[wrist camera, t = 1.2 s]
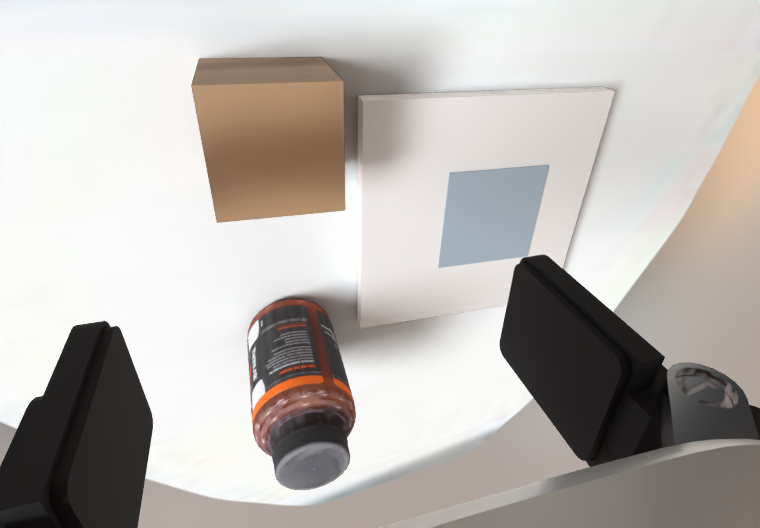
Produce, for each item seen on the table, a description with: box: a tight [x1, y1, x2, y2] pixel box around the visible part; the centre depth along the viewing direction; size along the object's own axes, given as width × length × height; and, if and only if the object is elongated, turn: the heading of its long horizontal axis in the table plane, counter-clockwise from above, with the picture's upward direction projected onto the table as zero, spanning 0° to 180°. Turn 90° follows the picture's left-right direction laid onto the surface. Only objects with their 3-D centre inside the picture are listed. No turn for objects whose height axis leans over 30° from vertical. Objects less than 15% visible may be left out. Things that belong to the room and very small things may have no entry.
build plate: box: [357, 87, 615, 328], centre depth 31 cm, size 16×16×1 cm
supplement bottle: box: [247, 299, 356, 490], centre depth 29 cm, size 6×6×11 cm
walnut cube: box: [191, 57, 345, 223], centre depth 23 cm, size 6×6×6 cm
